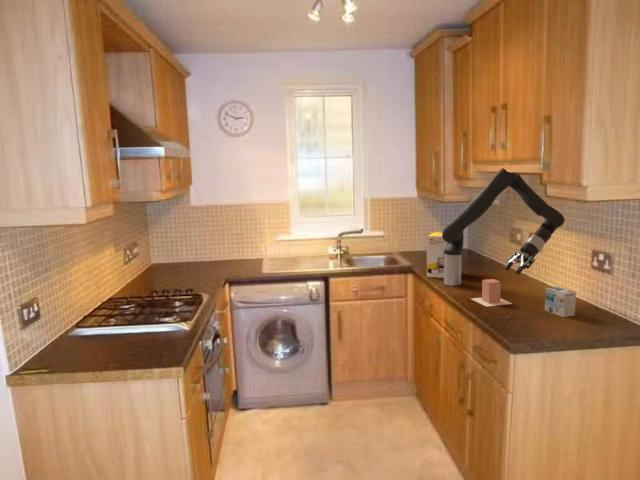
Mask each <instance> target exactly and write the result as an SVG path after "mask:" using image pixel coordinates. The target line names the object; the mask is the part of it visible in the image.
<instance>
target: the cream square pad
mask: <svg viewBox="0 0 640 480" xmlns="http://www.w3.org/2000/svg"><path fill="white" fill-rule="evenodd" d="M470 300H472V301H474V302H476V303H478V304H480V305H482V306H485V307H495V306H503V305H513V303H512V302H510V301H508V300H505V299H503V298H501V297H500V302H496V303H487V302H485V301H483V300H482V296H481V297H474V298H473V297H472V298H470Z"/></svg>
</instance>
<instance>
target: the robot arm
mask: <svg viewBox="0 0 640 480" xmlns="http://www.w3.org/2000/svg"><path fill="white" fill-rule="evenodd" d="M509 187H510V188H512V189H513V190H514V191H515V192H516V193H517V194H518V195H519V196H520V197H521V199H522V200H523V202H524V203H525V204H526V206H527V207H528V208H529V209H530V210H531V211H533V213H534V214H535V215H537V217H542V218H544V221H543V222H541V225H540V226H539V227H538V228H537V229H536V230H535V232H534V233H533V234H532V235H531V236H530V237H529V238H527V240H526V241H525V242H524V243H523V245H521V247H520V248H519V250H520V251H519V252H517V251H513V253H512V254H511V255H510V256H509V257H508V258H506V261H508V263H507V264H506V265H505V266H504V269H505V270H506V271H509V270H510V269H511V267H513V265H515V264H520V265H519V266H518V267H517V268H516V269H515V271H514V272H515V273H516V274H517V275H520V274H521V273H522V272H523V271H524V270H525V269H527V270H528V269H530V267H532V265H533V263H534V262H535V261H536V258H535V257H537V254H539V252H540V251H541V250H542V249H543V248H544V246H545V245H546V244H547V242H548V241H550V239H551V237H552V235H553V233H555V231H556V230H558V229H559V228H560V227H562V226H563V225H564V223H565V216H564V215H563V213H561V212H560V211H559V210H557V209H555V208H554V207H553V206H551V205H549V204H548V203H547V202H546V201H545V200H544V199H543V198H542V197H541V196H540V195H538V194H537V193H536V192H535V191H534V190H533V189H532V188H531V187H530V186H529V185H528V184H527V182H526V181H525V180H524V179H523V178H522V176H521V175H520V174H519V173H518V174H516V173H509V172H507V171H506V170H505V169H504V167H502V168H501V169H499V170H498V171H497V172H496V174H495V175H494V176H493V178H492V179H491V180H490V182H489V183H488V184H487V185H486V186H485V187H484V188H483V189H482V190H481V191H479V193H478V194H476V195H475V196H474V197H473V198H472V200H471V201H470V202H469V203H468V204H467V205H466V206H465V208H464V209H462V211H461V212H460V213H459V215H457V216H456V218H455V219H453V220H452V221H451V222H450V223H449V224H448V225H446V226H445V227H444V229H443V230H442V238H443V240H444V241H446V242H447V246H446V248H445V249H444V278H443V284H444V285H446V286H452V287H455V286H460V285H462V250H463V248H464V230H466V229H467V227H469V226H470V225H471V224H473V223H474V222H476V221H477V220H478V219H479V218H481V217H482V216H483V215H484V214H485V213H486V212H487V211H488V210H489V208H491V206H492V205H493V203H494V202H495V200H496V199H497V197H498V196H499V195H500V194H502V192H504V191H505V190H506V189H507V188H509Z"/></svg>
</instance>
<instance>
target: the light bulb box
mask: <svg viewBox="0 0 640 480" xmlns="http://www.w3.org/2000/svg"><path fill="white" fill-rule="evenodd" d="M544 299H545V301H544V312H548V313H550V314H553V315H556V316H559V317H562V318H567V317H573V316H575V315H576V300H577V291H574V290H571V289H567V288H563V287H560V286H557V285H556V286H551V287H546V288H545V298H544Z"/></svg>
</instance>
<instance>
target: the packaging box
mask: <svg viewBox="0 0 640 480" xmlns="http://www.w3.org/2000/svg"><path fill="white" fill-rule="evenodd" d="M442 232H443V231H442ZM442 232H441V231H440V232H436V231H435V232H434V231H433V232H432V233H429V234H428V235H427V236H426V277H427V278H434V277H435V279H444V249H445V248H446V246H447V242H446V241H444V240H443V238H442Z"/></svg>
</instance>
